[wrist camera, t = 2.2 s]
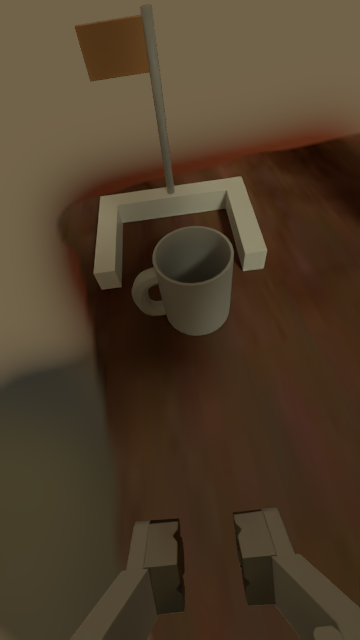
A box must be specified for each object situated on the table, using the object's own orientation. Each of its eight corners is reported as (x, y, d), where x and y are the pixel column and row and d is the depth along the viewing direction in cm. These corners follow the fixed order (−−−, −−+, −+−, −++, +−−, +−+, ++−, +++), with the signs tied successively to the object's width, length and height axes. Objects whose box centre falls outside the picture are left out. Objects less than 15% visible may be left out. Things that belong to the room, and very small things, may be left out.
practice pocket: (263, 268, 36) (311, 37, 18) (101, 289, 37) (-4, 87, 19) (239, 195, 44) (257, -16, 26) (106, 214, 44) (36, 20, 27)
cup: (238, 329, 32) (245, 274, 24) (147, 350, 31) (126, 302, 24) (219, 279, 36) (220, 219, 28) (138, 298, 35) (117, 242, 28)
